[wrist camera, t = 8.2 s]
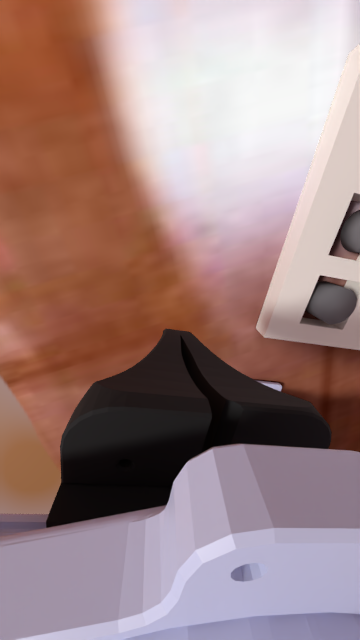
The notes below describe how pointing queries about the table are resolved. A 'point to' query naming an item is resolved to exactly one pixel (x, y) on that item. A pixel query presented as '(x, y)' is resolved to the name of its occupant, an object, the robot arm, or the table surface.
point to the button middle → (351, 233)
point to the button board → (321, 228)
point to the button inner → (331, 302)
